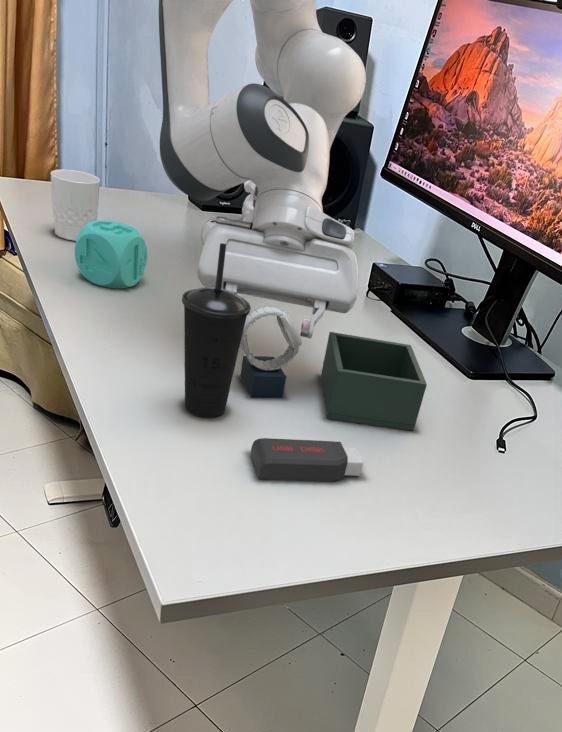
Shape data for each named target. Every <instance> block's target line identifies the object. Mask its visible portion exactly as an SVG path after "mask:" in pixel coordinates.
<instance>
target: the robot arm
mask: <svg viewBox="0 0 562 732" xmlns="http://www.w3.org/2000/svg"><path fill="white" fill-rule="evenodd" d="M233 1H234V0H158V35H159V39H158V40H159V53H160V54H159V55H160V57H159V58H160V75H161V90H162V91H161V92H162V120H161V126H160V134H159V155H160V162H161V165H162V168H163V170H164V172H165V174H166V177H168V179H169V180H170V182H171V183H172V184H173V186H175V187H176V188H177V189H178V190H179V191H181V192H182V193H183V194H185V195H186V196H188V197H190V198H191V199H194V200H196V201H201V202H207V201H211V200H213V199H214V198H217V197H219V195H222V194H223V193H225V192H226V191H228V190H230V189H231V188H234V187H236V186H239V185H241V184H244V182H246V181H249V180H250V181H252V182H253V183H254V184H255V185H256V187H255V192H254V195H253V198H254V199H253V207H254V209H253V210H252V212H251V213H250V214H248V215H247V216H246V218H243V217H242V220H241V219H231V218H228V217H226V216H220V215H218V216H216V218H210V219H208V220H206V221H205V223H204V224H203V226H202V230H201V235H200V236H201V237H200V238H201V243H202V244H203V246H202V250H201V253H200V256H199V261H198V264H197V265H198V266H197V278H198V280H199V282H200V284H201V285H202V287H215V285H216V276H217V267H218V258H219V249H220V244H221V243H223V244H226V252H225V261H224V270H223V278H222V287H221V288H222V289H226V290H229V291H231V292H233V293H235V294H236V295H238V294H240V295H244V296H245V295H246V296H250V297H255V298H262V299H265V300H272V301H276V302H281V303H287V304H293V305H297V306H298V305H299V306H302V307H308V308H312V311H311V312H312V313H311V314H312V316H311V317H310V319H307V318H306V319H305V318H303V319H302V323H301V327H300V328H301V329H300V334H299V336H300V337H303V338H307V339H312V337H313V334H314V330H315V329H314V328H315V326H316V325H317V324H318V323H319V322H320V321H321V319H322V318H323V317H324V313H325V311H328V312H329V311H330V312H334V313H339V314H347V313H349V312H350V311H351V310H352V309H353V308H354V307H355V305H356V301H357V297H358V287H359V286H358V285H359V267H358V258H357V256H356V254H355V252H354V251H353V247H354V242H355V231H354V230H353V229H352V227H350V226H351V220H350V221H347V220H346V219H345V217H344V216H341V215H340V217H341V218H340V219H342V218H343V219H345V221H346V223H343V222H340V221H338V220H337V219H335V218H333V217H331V216H330V215H328V214H326V213H324V210H323V209H324V208H323V202H322V200H323V196H324V194H325V192H326V189H327V185H328V180H329V179H328V177H329V169H330V157H331V156H330V155H331V153H330V152H331V148H332V145H333V142H334V140H335V138H336V135H337V134H338V131H339V129H340V127H341V125H342V122H343V121H344V119H345V118H346V116H347V115H348V114H349V113H350V112H351V111H353V110H354V109H355V108H356V107H357V106H358V104H359V103H360V101H361V99H362V97H363V96H364V92H365V89H366V82H367V74H366V69H365V65H364V63H363V61H362V58H361V57H360V56H359V54H358V53H357V52H355V50H354V49H353V48H352V47H351V46H350V45H349V44H347V43H346V42H345V41H344V40H343V39H341V38H339V37H337V36H334V35H330V34H329V33H328V34H327V33H325V32H323V31H322V29H321V27H320V25H319V22H318V17H317V6H316V5H317V4H316V0H249V3H250V8H251V14H252V18H253V20H252V21H253V26H254V32H255V38H256V39H255V40H256V46H255V53H254V54H255V55H254V60H255V66H256V69H257V73H258V74H259V76H260V77H261V79H262V80H263V81H264V83H265V84H266V85H267V86H268V87H267V86H265V85H263V84H261V83H248V84H246V85H244V86H241V87H239V88H237V89H235V90H233V91H230V92H229V93H227V94H225V95H223V96H221V97H219V98H218V99H217V100H215V101H213V102H211V101H210V79H209V59H208V58H209V55H208V53H209V46H210V41H211V37H212V35H213V33H214V30H215V28H216V26H217V25H218V22H219V21H220V19H221V18H222V16H223V15H224V13H225V11H226V10H227V9H228V8H229V6H230V5H231V4H232V2H233Z"/></svg>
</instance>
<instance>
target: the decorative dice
mask: <svg viewBox="0 0 562 732" xmlns="http://www.w3.org/2000/svg"><path fill="white" fill-rule="evenodd" d="M74 258H75V262H76V265H77V268H78V269H79V271H80V273H81V274H82V276H83V277H84V278H85V279H86V280H87V281H88V282H89V283H92V284H94V285H96V286H100V287H102V288H103V287H104V288H109V289H127V288H131V287H134V286H135V285H136V284H138V282H139V281H140V280H141V279H142V277H143V275H144V274H145V273H144V272H145V271H146V268H147V263H148V246H147V244H146V241H145V239H144V237H143V236H142V234H141V233H140V231H138V229H137V228H135V227H134V226H131V225H129V224H126V223H123V222H119V221H112V220H97V221H92V222H89V223H87V224H86V225H85V226H84V227H83V228H82V229H81V231H80V233H79V235H78V237H77V240H76V241H75V245H74Z"/></svg>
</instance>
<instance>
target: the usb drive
mask: <svg viewBox="0 0 562 732" xmlns="http://www.w3.org/2000/svg"><path fill="white" fill-rule="evenodd" d="M250 456H251V459H252V463H253V466H254V470H255V472H256V476H257V478H258V480H267V481H269V480H270V481H271V480H273V481H301V482H302V481H304V482H305V481H306V482H307V481H308V482H337V481H341V480H343V479H345V476H355V477H356V476H357V477H358V476H359V477H360V476H361V474H362V470H363V465H364V461H363V458H362V457H361V455H360V453H359V451H358V449H357V448H356V447H344V445H343V444H342V442H341V441H335V440H334V441H333V440H312V439H291V438H290V439H289V438H271V437H269V438H268V437H263V438H262V437H261V438H257V439H255V440H254V441H253V442H252V445H251V449H250Z"/></svg>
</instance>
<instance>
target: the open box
mask: <svg viewBox="0 0 562 732" xmlns="http://www.w3.org/2000/svg"><path fill="white" fill-rule="evenodd" d="M418 361H419V360H418V359H417V357H416V354H415V352H414V349H413V346H412V345H411V344H407V343H401V342H394V341H388V340H383V339H376V338H370V337H364V336H359V335H353V334H347V333H340V332H334V331H329V334H328V339H327V344H326V348H325V353H324V359H323V362H322V363H323V364H322V368H321V373H320V382H321V388H322V394H323V401H324V408H325V414H326V419H327V420H333V421H341V422H348V423H354V424H362V425H368V426H375V427H382V428H390V429H397V430H402V431H403V430H405V431H411V432H414V430H415V427H416V424H417V420H418V417H419V413H420V410H421V406H422V402H423V399H424V396H425V394H426V393H425V392H426V389H427V386H428V384H427V381H426V378H425V376H424V373H423V371H422V369H421V366H420V364H419V362H418Z"/></svg>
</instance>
